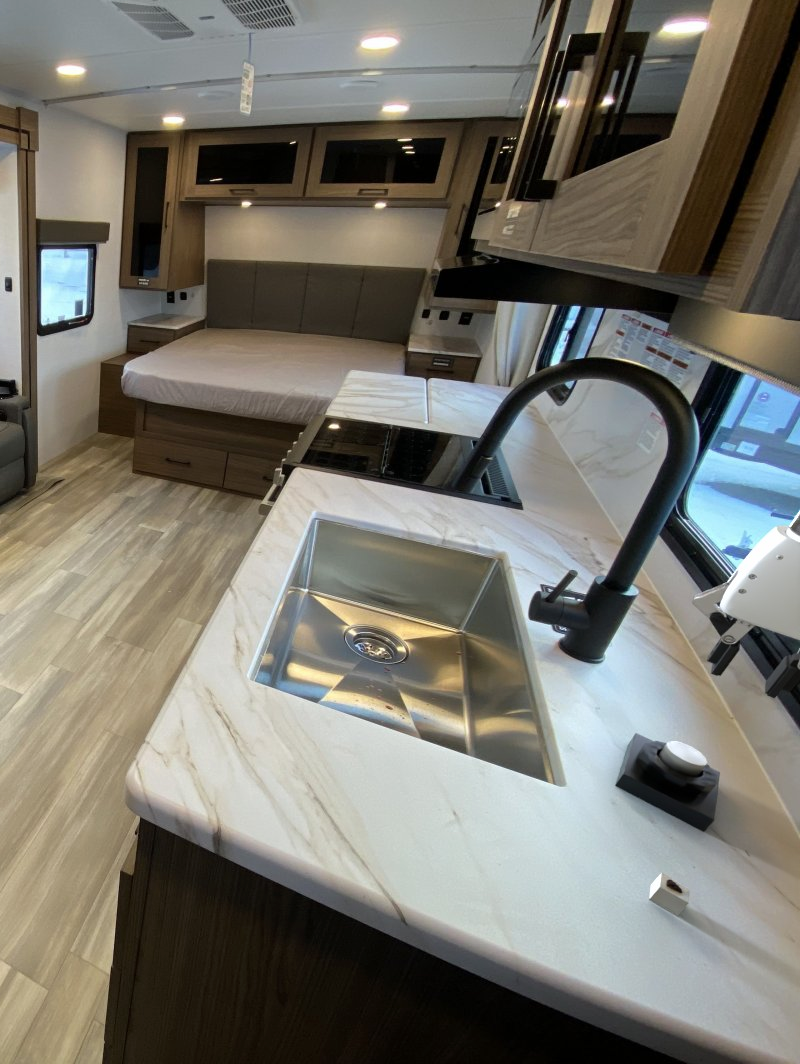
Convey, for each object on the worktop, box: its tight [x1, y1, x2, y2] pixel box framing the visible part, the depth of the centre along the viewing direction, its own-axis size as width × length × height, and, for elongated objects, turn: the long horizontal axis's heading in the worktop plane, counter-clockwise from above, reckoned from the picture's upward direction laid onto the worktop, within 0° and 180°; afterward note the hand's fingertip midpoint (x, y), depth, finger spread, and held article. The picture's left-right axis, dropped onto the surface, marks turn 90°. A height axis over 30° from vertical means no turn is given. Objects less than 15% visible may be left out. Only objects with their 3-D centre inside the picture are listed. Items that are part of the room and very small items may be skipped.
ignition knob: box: [659, 740, 709, 777], centre depth 69 cm, size 4×4×2 cm
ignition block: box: [614, 732, 721, 833], centre depth 70 cm, size 10×8×4 cm
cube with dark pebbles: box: [648, 872, 691, 917], centre depth 58 cm, size 2×2×2 cm
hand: (743, 678), depth 63 cm, fingers open, 3 cm apart
